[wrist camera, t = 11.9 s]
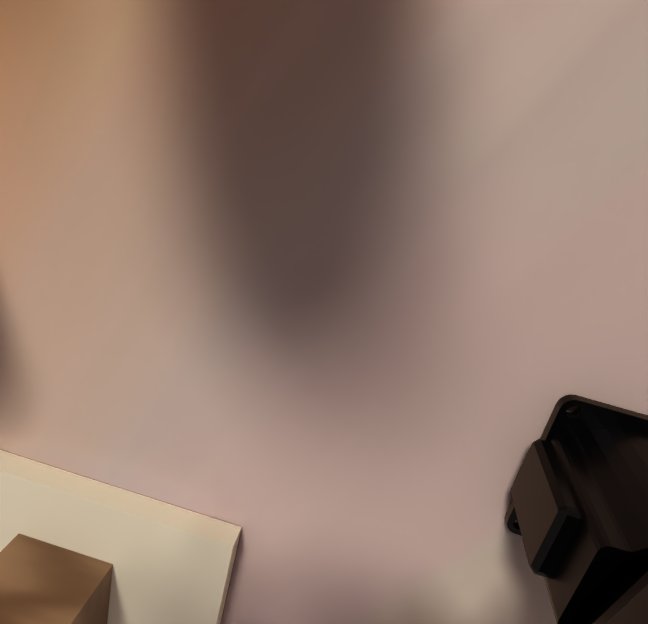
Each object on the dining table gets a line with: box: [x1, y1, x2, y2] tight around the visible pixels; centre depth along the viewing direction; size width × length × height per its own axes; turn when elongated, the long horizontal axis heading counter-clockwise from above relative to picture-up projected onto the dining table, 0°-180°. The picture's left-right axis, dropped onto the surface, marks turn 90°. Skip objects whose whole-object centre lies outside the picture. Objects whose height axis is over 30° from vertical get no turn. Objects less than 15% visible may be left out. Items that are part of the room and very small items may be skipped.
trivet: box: [0, 450, 242, 624], centre depth 27 cm, size 16×12×1 cm
